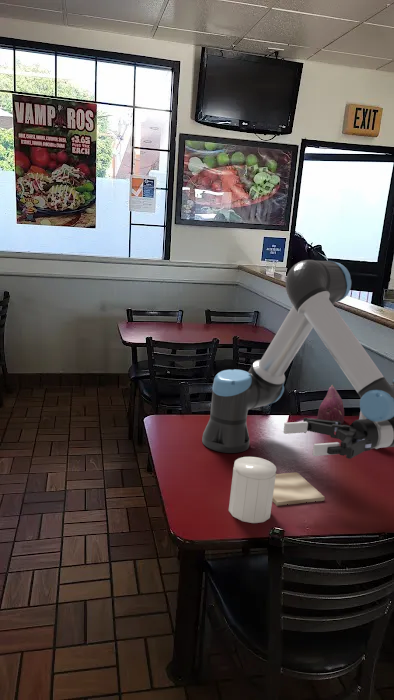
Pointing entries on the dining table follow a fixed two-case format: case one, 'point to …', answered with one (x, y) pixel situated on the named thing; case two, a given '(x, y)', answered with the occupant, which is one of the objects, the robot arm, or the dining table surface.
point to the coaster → (294, 490)
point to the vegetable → (331, 407)
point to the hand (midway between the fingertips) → (298, 438)
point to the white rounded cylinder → (252, 489)
